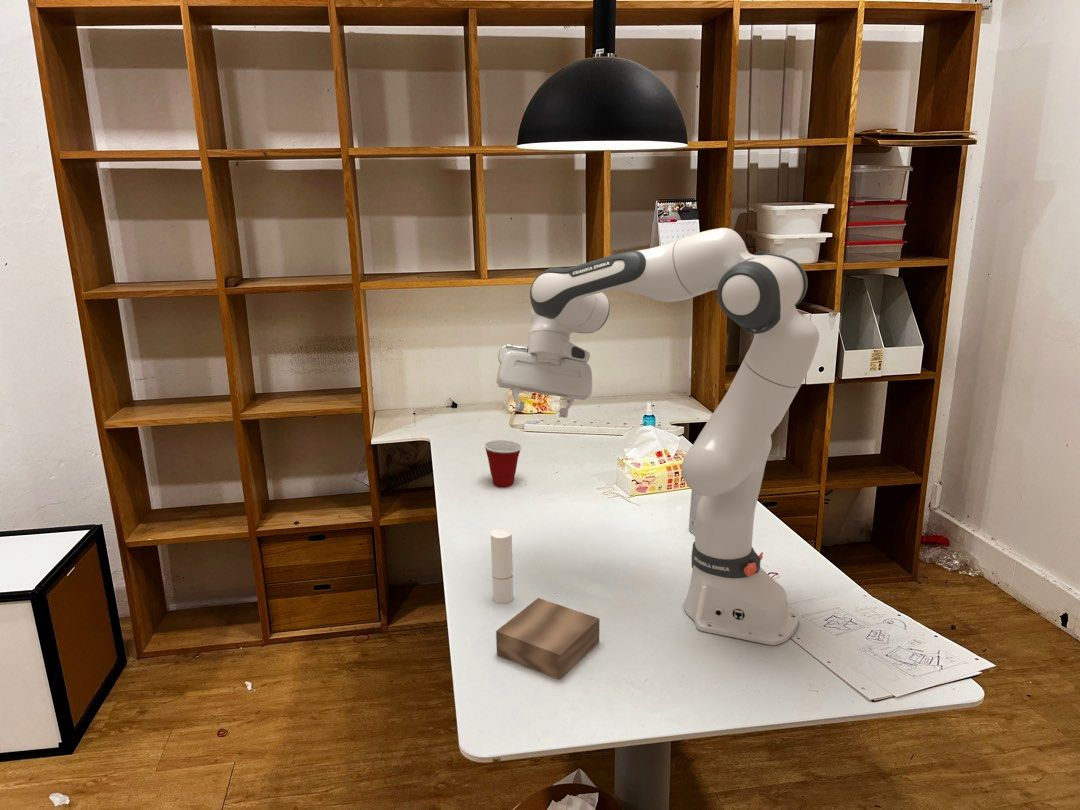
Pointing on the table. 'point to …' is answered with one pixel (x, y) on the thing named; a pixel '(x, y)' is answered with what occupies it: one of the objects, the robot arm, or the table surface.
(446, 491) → the table surface
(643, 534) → the table surface
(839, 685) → the table surface
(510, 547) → the tube
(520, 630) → the walnut stand
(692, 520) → the ink cartridge box
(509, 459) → the plastic cup
